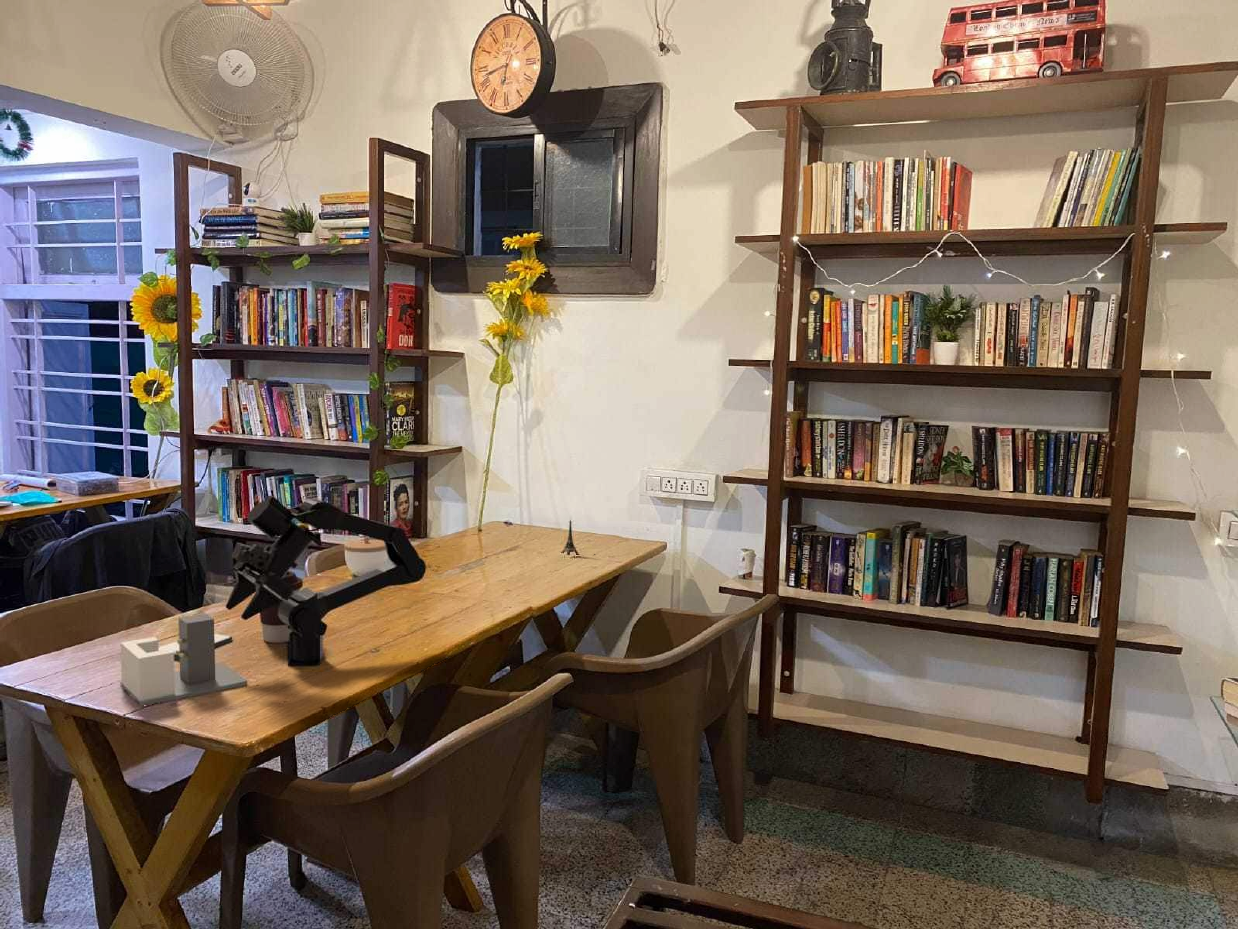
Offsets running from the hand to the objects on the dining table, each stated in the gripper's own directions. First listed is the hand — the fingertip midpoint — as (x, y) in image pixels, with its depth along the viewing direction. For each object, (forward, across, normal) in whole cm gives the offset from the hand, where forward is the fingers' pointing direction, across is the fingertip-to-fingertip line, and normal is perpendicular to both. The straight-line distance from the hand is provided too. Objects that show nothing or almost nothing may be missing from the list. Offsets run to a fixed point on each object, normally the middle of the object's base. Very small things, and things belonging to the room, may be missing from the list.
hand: (235, 613), depth 188 cm
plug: (+14, +1, +2) cm, 14 cm away
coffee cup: (-1, -18, +20) cm, 27 cm away
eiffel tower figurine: (-74, -54, +102) cm, 137 cm away
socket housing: (+16, +1, +1) cm, 16 cm away
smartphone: (+11, -23, +8) cm, 26 cm away
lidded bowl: (-30, -66, +52) cm, 90 cm away
